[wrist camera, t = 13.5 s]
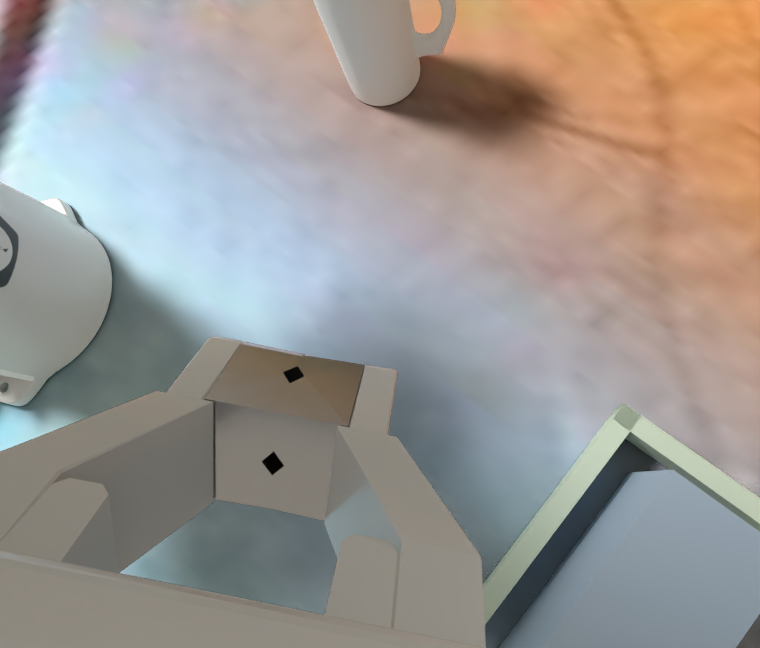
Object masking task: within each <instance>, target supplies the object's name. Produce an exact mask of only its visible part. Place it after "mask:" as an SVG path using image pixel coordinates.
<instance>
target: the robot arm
mask: <svg viewBox="0 0 760 648" xmlns="http://www.w3.org/2000/svg"><path fill="white" fill-rule="evenodd" d="M111 291H112V272H111V266H110V262H109V258H108V256H107V253H106V251H105V249H104V248H103V246H102V245H101V243H100V242H99V241H98V240H97V238H96V237H95V236H93V235H92V234H91V233H90V232H88V231H87V230H85V229H84V228H83V227H82V226H80V225H79V223H78V222H77V220H76V218H75V215H74V213H73V211H72V209H71V207H70V206H69V205H68V204H67V203H66V202H64V201H61V200H59V199H57V198H51V199H47V200H43V201H40V202H39V201H37V200H35V199H33V198H31V197H29V196H27V195H25V194H23V193H21V192H19V191H17V190H15V189H13V188H11V187H9V186H7V185H5V184H3V183H1V182H0V402H3V403H7V404H10V405H14V406H23V405H25V404H27V403H28V402H29V401H31V400H32V398H33V397H34V396H35V395H36V394H37V393H38V391H39V390H40V389H41V387H42V386H43V385H44V383H45V382H46V380H47V379H48V378H49V377H50V376H52V375H53V374H54V373H55V372H57V371H58V370H60V369H61V368H63V367H64V366H66V365H67V364H69V363H70V362H71V361H72V360H74V359H75V358H76V357H77V356H78V355H79V354H80V353H81V352H82V351H83V350H84V349H85V348H86V347H87V346H88V344H89V343H90V342H91V340H92V339H93V338H94V336H95V335H96V333H97V331H98V330H99V328H100V326H101V324H102V322H103V320H104V317H105V315H106V312H107V309H108V306H109V302H110V298H111ZM396 380H397V371H396V369H389V368H383V367H376V366H369V365H366V366H365V365H361V364H355V363H349V362H343V361H337V360H331V359H325V358H319V357H313V356H307V355H305V354H301V353H296V352H292V351H287V350H282V349H277V348H272V347H268V346H263V345H258V344H253V343H249V342H242V341H240V340H234V339H228V338H223V337H217V336H213V337H210V338H208V339H207V340H206V342H205V343H204V344H203V345H202V347H201V348H200V349H199V351H198V352H197V353H196V354H195V356H194V357H193V358H192V359H191V361H190V362H189V363H188V365H187V366H186V367H185V368H184V370H183V371H182V372H181V374H180V375H179V376H178V377H177V379H176V380H175V381H174V383H173V384H172V385H171V386H170V388H169V389H168V390H167V392H160V391H154V392H152V393H149V394H147V395H144V396H142V397H139V398H136V399H134V400H131V401H129V402H126V403H124V404H121V405H118V406H116V407H113V408H111V409H108V410H106V411H103V412H101V413H98V414H95V415H93V416H90V417H88V418H85V419H83V420H80V421H78V422H75V423H72V424H70V425H67V426H65V427H62V428H60V429H57V430H55V431H52V432H49V433H47V434H44V435H42V436H39V437H37V438H34V439H31V440H29V441H26V442H24V443H21V444H19V445H16V446H14V447H11V448H8V449H6V450H3V451H1V452H0V648H486V638H485V619H484V599H483V579H482V559H481V556H480V554H479V553H478V552H477V550H476V549H475V547H474V546H473V544H472V543H471V542H470V540H469V539H468V537H467V536H466V534H465V533H464V532H463V530H462V529H461V527H460V526H459V524H458V523H457V522H456V520H455V519H454V517H453V516H452V515H451V513H450V512H449V510H448V509H447V507H446V506H445V505H444V503H443V502H442V500H441V499H440V497H439V496H438V495H437V493H436V492H435V490H434V489H433V487H432V486H431V485H430V483H429V482H428V480H427V479H426V477H425V476H424V475H423V473H422V472H421V470H420V469H419V468H418V466H417V465H416V463H415V462H414V460H413V459H412V458H411V456H410V455H409V453H408V452H407V450H406V449H405V448H404V446H403V445H402V443H401V442H400V440H399V439H398V438H397V437H395V436H390V435H388V430H389V423H390V417H391V411H392V405H393V398H394V392H395V386H396ZM8 386H9V387H8ZM7 388H8V390H7ZM213 499H216V500H222V501H228V502H234V503H239V504H245V505H251V506H257V507H263V508H269V509H274V510H278V511H282V512H287V513H291V514H296V515H300V516H305V517H309V518H313V519H318V520H322V521H325V522H324V524H325V527H326V530H327V532H328V535H329V538H330V541H331V543H332V546H333V549H334V552H335V554H336V557H337V563H336V567H335V571H334V576H333V580H332V584H331V588H330V593H329V597H328V601H327V605H326V610H325V614H324V615H323V614H318V613H314V612H309V611H304V610H299V609H294V608H289V607H284V606H279V605H274V604H269V603H264V602H259V601H254V600H250V599H245V598H240V597H235V596H230V595H225V594H220V593H215V592H210V591H205V590H200V589H195V588H190V587H185V586H180V585H175V584H170V583H166V582H161V581H156V580H151V579H146V578H141V577H136V576H131V575H126V574H121V573H120V572H121V571H122V570H124V569H125V568H126V567H128V566H129V565H130V564H132V563H133V562H134V561H136V560H137V559H138V558H140V557H141V556H142V555H144V554H145V553H146V552H148V551H149V550H150V549H152V548H153V547H154V546H156V545H157V544H159V543H160V542H161V541H163V540H164V539H165V538H167V537H168V536H169V535H171V534H172V533H173V532H175V531H176V530H177V529H179V528H180V527H181V526H183V525H184V524H185V523H187V522H188V521H189V520H191V519H192V518H193V517H195V516H196V515H197V514H199V513H200V512H201V511H203V510H204V509H205V508H207V507H208V506H209V505H211V504H212V503H213Z"/></svg>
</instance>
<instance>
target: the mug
mask: <svg viewBox="0 0 760 648" xmlns="http://www.w3.org/2000/svg"><path fill="white" fill-rule="evenodd" d="M313 1H314V3H315V6H316V8H317V10H318V13H319V15H320V17H321V20H322V22H323V24H324V27H325V29H326V32H327V34H328V36H329V39H330V41H331V43H332V46H333V48H334V50H335V53H336V55H337V58H338V60H339V62H340V65H341V67H342V70H343V72H344V74H345V77H346V79H347V81H348V83H349V85H350V87H351V90H352V91H353V93H354V95H355V96H356V97H357V98H358V99H359V100H361V101H362V102H364V103H366V104H369V105H373V106H387V105H391V104H394V103H396V102H399V101H400V100H402V99H404V98H405V97H406V96H408V95H409V94H410V93H411V92H412V90H413V89H414V88H415V86H416V85H417V83H418V80H419V77H420V62H419V57H422V56H426V55H440V54H441V53H442V52H443V50H444V48H445V45H446V43H447V40H448V38H449V35H450V33H451V30H452V28H453V25H454V21H455V15H456V3H455V0H439V2H440V5H441V10H442V16H441V21H440V24H439V26H438V27H437V28H436V29H435V30H434V31H433V32H431V33H426V34H421V33H418V32H416V31H415V29H414V25H413V19H412V14H411V8H410V2H409V0H313Z"/></svg>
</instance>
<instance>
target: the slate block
mask: <svg viewBox="0 0 760 648" xmlns="http://www.w3.org/2000/svg"><path fill="white" fill-rule="evenodd" d="M759 614H760V531H758V530H757V529H755V528H754V527H753V526H751V525H750V524H748V523H747V522H746V521H744V520H743V519H741V518H740V517H739V516H737V515H736V514H734V513H733V512H732V511H730V510H729V509H727V508H726V507H725V506H723V505H722V504H720V503H719V502H718V501H716V500H715V499H713V498H712V497H711V496H709V495H708V494H707V493H705V492H704V491H702V490H701V489H700V488H698V487H697V486H695V485H694V484H693V483H691V482H690V481H688V480H687V479H686V478H684V477H683V476H681V475H680V474H679V473H677V472H676V471H674V470H661V471H645V472H629V473H628V475H627V476H626V477H625V479H624V480H623V481H622V483H621V484H620V485H619V487H618V488H617V489H616V491H615V492H614V493H613V495H612V496H611V497H610V499H609V500H608V501H607V503H606V504H605V505H604V507H603V508H602V509H601V511H600V512H599V513H598V515H597V516H596V517H595V519H594V520H593V521H592V523H591V524H590V525H589V527H588V528H587V530H586V531H585V532H584V534H583V535H582V536H581V538H580V539H579V540H578V542H577V543H576V544H575V546H574V547H573V548H572V550H571V551H570V552H569V554H568V555H567V556H566V558H565V559H564V560H563V562H562V563H561V564H560V566H559V567H558V568H557V570H556V571H555V572H554V574H553V575H552V576H551V578H550V579H549V580H548V582H547V583H546V584H545V586H544V587H543V588H542V590H541V591H540V592H539V594H538V595H537V597H536V598H535V599H534V601H533V602H532V603H531V605H530V606H529V607H528V609H527V610H526V611H525V613H524V614H523V615H522V617H521V618H520V619H519V621H518V622H517V623H516V625H515V626H514V627H513V629H512V630H511V631H510V633H509V634H508V635H507V637H506V638H505V639H504V641H503V642H502V643H501V645H500V646H499V647H498V648H736V647H737V645H738V644H739V643H740V641H741V640H742V638H743V637H744V636H745V634H746V633H747V631H748V630H749V628H750V627H751V626H752V624H753V623H754V621H755V620H756V619H757V617H758V616H759Z"/></svg>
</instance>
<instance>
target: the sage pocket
mask: <svg viewBox="0 0 760 648" xmlns="http://www.w3.org/2000/svg"><path fill="white" fill-rule="evenodd" d="M624 439H626V440H628V441H629V442H630V443H632V444H633V445H635V446H636V447H637V448H639V449H640V450H642V451H643V452H644V453H646V454H647V455H649V456H650V457H651V458H653V459H654V460H656V461H657V462H658V463H660V464H661V465H662V466H664V467H665V468H667V469H668V470H674V471H676V472H677V473H679V474H680V475H681V476H683V477H684V478H686V479H687V480H688V481H690V482H691V483H693V484H694V485H695V486H697V487H698V488H700V489H701V490H702V491H704V492H705V493H707V494H708V495H709V496H711V497H712V498H713V499H715V500H716V501H718V502H719V503H720V504H722V505H723V506H725V507H726V508H727V509H729V510H730V511H732V512H733V513H734V514H736V515H737V516H739V517H740V518H741V519H743V520H744V521H746V522H747V523H748V524H750V525H751V526H753V527H754V528H755V529H757V530H758V531H760V498H759V497H758V496H756V495H755V494H753V493H752V492H751V491H749V490H748V489H746V488H745V487H743V486H742V485H740V484H739V483H738V482H736V481H735V480H733V479H732V478H730V477H729V476H728V475H726V474H725V473H723V472H722V471H720V470H719V469H717V468H716V467H715V466H713V465H712V464H710V463H709V462H707V461H706V460H705V459H703V458H702V457H700V456H699V455H697V454H696V453H694V452H693V451H692V450H690V449H689V448H687V447H686V446H684V445H683V444H682V443H680V442H679V441H677V440H676V439H674V438H673V437H671V436H670V435H669V434H667V433H666V432H664V431H663V430H661V429H660V428H659V427H657V426H656V425H654V424H653V423H651V422H650V421H648V420H647V419H646V418H644V417H643V416H641V415H640V414H638V413H637V412H636V411H634V410H633V409H631V408H630V407H628V406H627V405H625V404H623V405H621V406H620V407H618V408H617V409H615V410H614V411H613V413H612V414H611V415H610V417H609V418H608V419H607V421H606V422H605V423H604V425H603V426H602V427H601V429H600V430H599V431H598V433H597V434H596V435H595V437H594V438H593V439H592V441H591V442H590V443H589V444H588V446H587V447H586V448H585V450H584V451H583V452H582V454H581V455H580V456H579V458H578V459H577V460H576V462H575V463H574V464H573V466H572V467H571V468H570V470H569V471H568V472H567V474H566V475H565V476H564V478H563V479H562V480H561V482H560V483H559V484H558V486H557V487H556V488H555V489H554V491H553V492H552V493H551V495H550V496H549V497H548V499H547V500H546V501H545V503H544V504H543V505H542V507H541V508H540V509H539V511H538V512H537V513H536V515H535V516H534V517H533V519H532V520H531V521H530V523H529V524H528V525H527V527H526V528H525V529H524V531H523V532H522V533H521V534H520V536H519V537H518V538H517V540H516V541H515V542H514V544H513V545H512V546H511V548H510V549H509V550H508V552H507V553H506V554H505V556H504V557H503V558H502V560H501V561H500V562H499V564H498V565H497V566H496V568H495V569H494V570H493V572H492V573H491V574H490V575H489V577H488V578H487V579H486V581H485V582H484V583H483V599H484V619H485V624H486V623H487V622H488V620H489V619H490V618H491V616H492V615H493V614H494V612H495V611H496V610H497V608H498V607H499V606H500V604H501V603H502V602H503V600H504V599H505V598H506V596H507V595H508V594H509V592H510V591H511V590H512V588H513V587H514V586H515V584H516V583H517V582H518V580H519V579H520V578H521V576H522V575H523V574H524V572H525V571H526V570H527V568H528V567H529V566H530V564H531V563H532V562H533V560H534V559H535V558H536V556H537V555H538V554H539V552H540V551H541V550H542V548H543V547H544V546H545V544H546V543H547V542H548V540H549V539H550V538H551V536H552V535H553V534H554V532H555V531H556V530H557V528H558V527H559V526H560V524H561V523H562V522H563V520H564V519H565V518H566V516H567V515H568V514H569V512H570V511H571V510H572V508H573V507H574V506H575V504H576V503H577V502H578V500H579V499H580V498H581V496H582V495H583V494H584V492H585V491H586V490H587V488H588V487H589V486H590V484H591V483H592V482H593V480H594V479H595V478H596V476H597V475H598V474H599V472H600V471H601V470H602V468H603V467H604V466H605V464H606V463H607V462H608V460H609V459H610V458H611V456H612V455H613V454H614V452H615V451H616V450H617V448H618V447H619V446H620V444H621V443H622V442H623V440H624Z"/></svg>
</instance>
